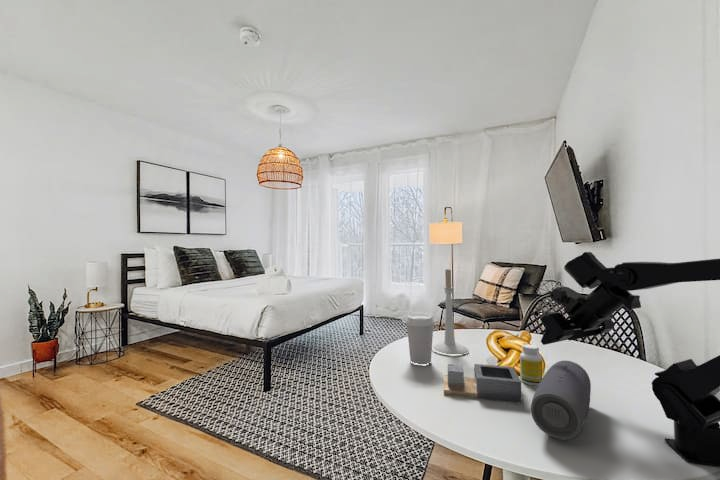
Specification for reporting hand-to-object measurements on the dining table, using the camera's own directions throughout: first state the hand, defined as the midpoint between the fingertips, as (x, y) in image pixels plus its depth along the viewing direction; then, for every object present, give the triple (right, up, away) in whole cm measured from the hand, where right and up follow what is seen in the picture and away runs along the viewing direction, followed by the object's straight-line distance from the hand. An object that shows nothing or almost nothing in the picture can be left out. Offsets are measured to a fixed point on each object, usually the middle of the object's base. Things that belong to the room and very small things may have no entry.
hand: (555, 340), depth 81 cm
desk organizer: (-19, -14, +2) cm, 23 cm away
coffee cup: (-30, -15, +23) cm, 40 cm away
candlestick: (-17, -15, +34) cm, 41 cm away
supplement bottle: (-3, -14, +7) cm, 15 cm away
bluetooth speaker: (-6, -13, -13) cm, 19 cm away
